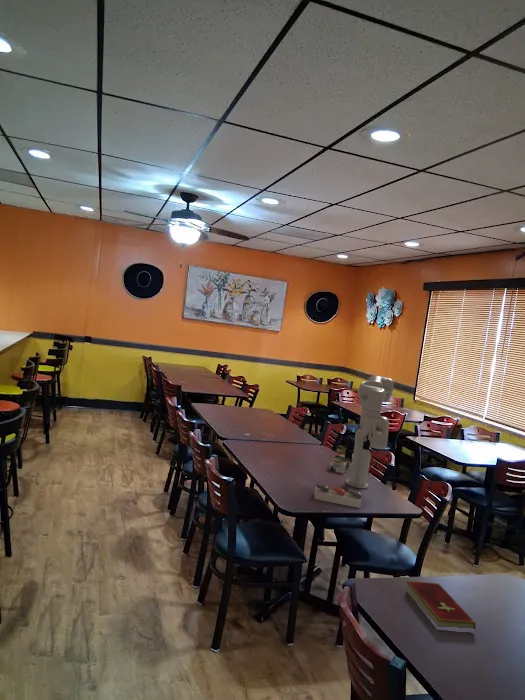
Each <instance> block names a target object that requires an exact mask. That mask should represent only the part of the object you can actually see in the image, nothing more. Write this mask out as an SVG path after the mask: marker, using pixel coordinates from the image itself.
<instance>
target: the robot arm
mask: <svg viewBox="0 0 525 700" xmlns="http://www.w3.org/2000/svg"><path fill="white" fill-rule="evenodd" d="M394 384H395V383H394V381H393V379H392V378H390V377H387V376H386V377H385V376H379V375H371V376H369V377H368V379H367V380H366V381H362V382H361V383H360V384H359V386H358V391H357V396H358V398H359V402H360V405H361V412H360V418H359V426H360V427H359V428H358V429H357V430H356V431H355V435H354V436H355V437H354V447H353V448H354V449H353V455H352V460H351V466H350V470H349V471H350V472H349V478H346V479H345V483H346V484H347V485H348V486H351V487H352V488H357V489H368V488H369V483H367V480H368V474H369V470H370V463H371V459H372V454H371V452H370V448H372V449H377V450H385V449H386V448H387V446H388V441H389V438H388V437H389V429H390V422H389V419H388V417H386V416H382V415H381V411H382V406H383V403H388V402H389V401H391V400H390V399H391V397H392V395H393V392H394V391H393V390H394Z"/></svg>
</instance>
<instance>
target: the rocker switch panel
mask: <svg viewBox="0 0 525 700" xmlns="http://www.w3.org/2000/svg"><path fill="white" fill-rule="evenodd" d="M313 496H314V500H316V499H317V501H322V502H327V503H333V504H338V505H343V506H349V507H354V508H358V509H359V508H360V509H361V505H362V497H361V498H359V497H357V496H354V495H352V494H349V491H345V495H342V494H340V493H338V492H336V491H334V490H333V488H332V489H331V488H329V491H328V492H327V491H324V490H322V489H320V488H317V487H316V485H315V486H314V490H313Z"/></svg>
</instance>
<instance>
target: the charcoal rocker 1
mask: <svg viewBox="0 0 525 700" xmlns="http://www.w3.org/2000/svg"><path fill="white" fill-rule="evenodd" d="M315 486H316V487H317V488H320V489H322V490H324V491H327V492H328V491H329V489H330V487H329V486H328V485H326V484H324V483H320V482H319V481H316V484H315Z"/></svg>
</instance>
